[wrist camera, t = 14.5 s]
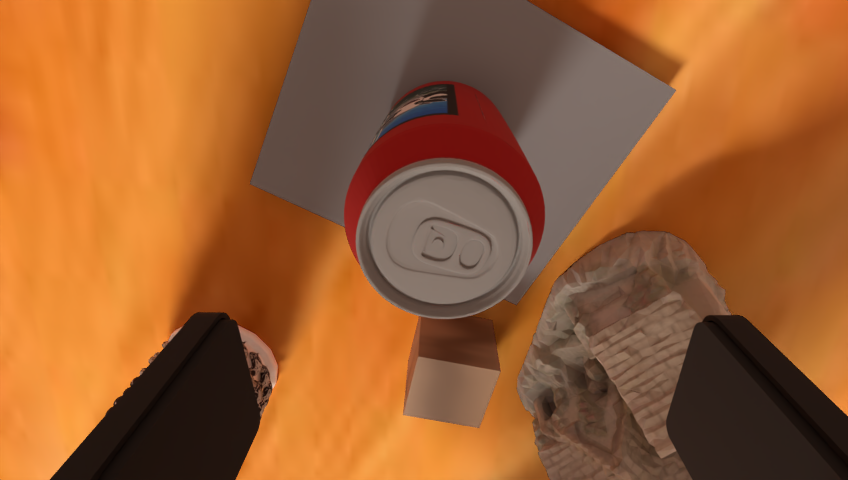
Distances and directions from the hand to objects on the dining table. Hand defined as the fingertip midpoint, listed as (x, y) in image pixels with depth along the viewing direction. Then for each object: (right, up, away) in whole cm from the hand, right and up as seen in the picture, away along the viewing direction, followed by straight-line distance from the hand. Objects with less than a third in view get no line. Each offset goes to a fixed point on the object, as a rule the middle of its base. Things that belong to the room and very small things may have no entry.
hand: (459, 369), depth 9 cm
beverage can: (0, +8, +15) cm, 17 cm away
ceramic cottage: (+13, -5, +22) cm, 26 cm away
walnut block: (+1, -4, +22) cm, 23 cm away
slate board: (+1, +9, +15) cm, 18 cm away
